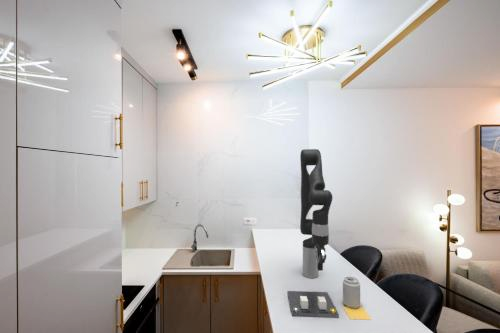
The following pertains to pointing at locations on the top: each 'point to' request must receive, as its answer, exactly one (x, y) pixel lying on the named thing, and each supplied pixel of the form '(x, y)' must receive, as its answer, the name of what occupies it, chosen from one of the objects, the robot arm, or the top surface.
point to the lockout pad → (356, 313)
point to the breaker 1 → (303, 302)
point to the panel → (311, 304)
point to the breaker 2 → (322, 303)
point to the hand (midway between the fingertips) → (320, 269)
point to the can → (351, 292)
